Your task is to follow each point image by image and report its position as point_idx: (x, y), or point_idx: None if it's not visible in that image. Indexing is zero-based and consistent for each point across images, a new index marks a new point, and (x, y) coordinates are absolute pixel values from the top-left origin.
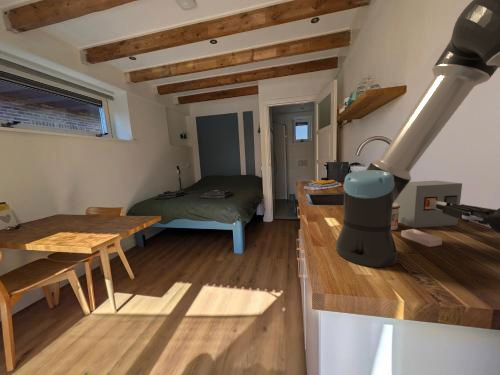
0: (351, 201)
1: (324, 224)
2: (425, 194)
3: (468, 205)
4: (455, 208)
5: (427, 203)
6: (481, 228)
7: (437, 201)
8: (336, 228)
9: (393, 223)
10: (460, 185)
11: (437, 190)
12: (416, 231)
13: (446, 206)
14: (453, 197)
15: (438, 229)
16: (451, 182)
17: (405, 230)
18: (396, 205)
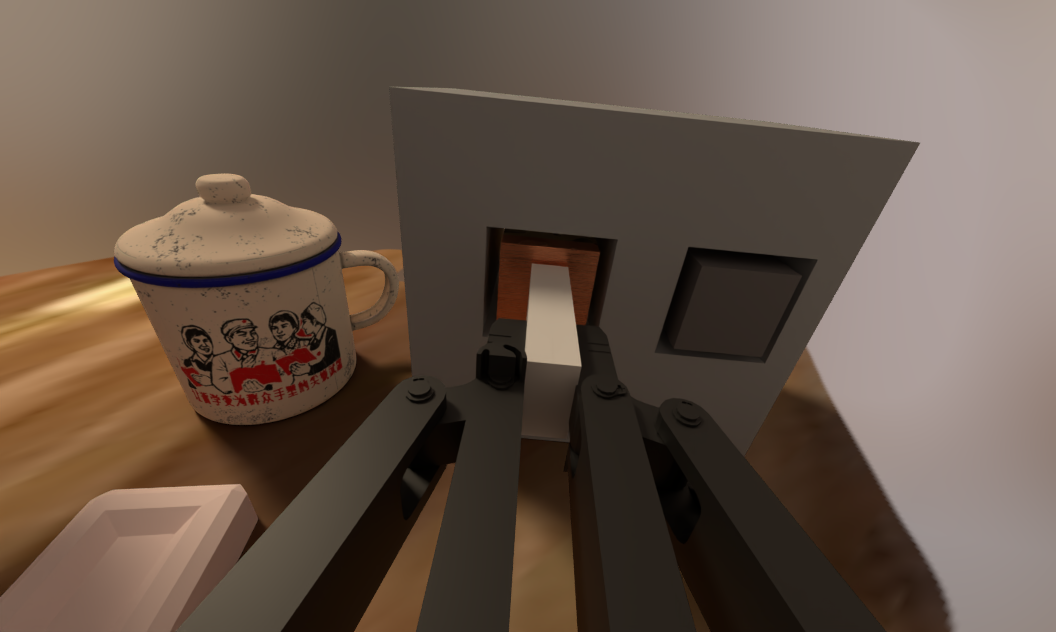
0: None
1: (55, 292)
2: (494, 201)
3: (734, 455)
4: (344, 528)
5: (517, 286)
6: (872, 553)
7: (550, 289)
8: (3, 334)
9: (217, 389)
10: (889, 164)
11: (624, 179)
12: (175, 539)
13: (401, 406)
14: (766, 274)
15: (543, 489)
16: (839, 132)
17: (114, 501)
18: (202, 259)
